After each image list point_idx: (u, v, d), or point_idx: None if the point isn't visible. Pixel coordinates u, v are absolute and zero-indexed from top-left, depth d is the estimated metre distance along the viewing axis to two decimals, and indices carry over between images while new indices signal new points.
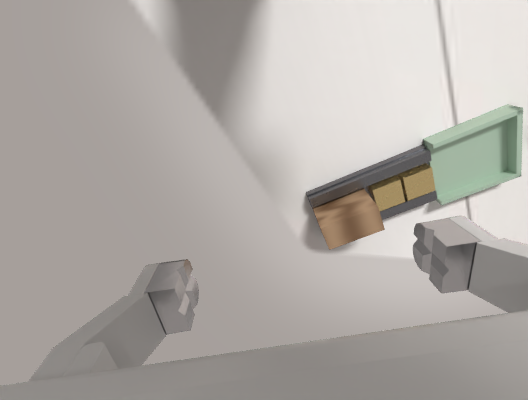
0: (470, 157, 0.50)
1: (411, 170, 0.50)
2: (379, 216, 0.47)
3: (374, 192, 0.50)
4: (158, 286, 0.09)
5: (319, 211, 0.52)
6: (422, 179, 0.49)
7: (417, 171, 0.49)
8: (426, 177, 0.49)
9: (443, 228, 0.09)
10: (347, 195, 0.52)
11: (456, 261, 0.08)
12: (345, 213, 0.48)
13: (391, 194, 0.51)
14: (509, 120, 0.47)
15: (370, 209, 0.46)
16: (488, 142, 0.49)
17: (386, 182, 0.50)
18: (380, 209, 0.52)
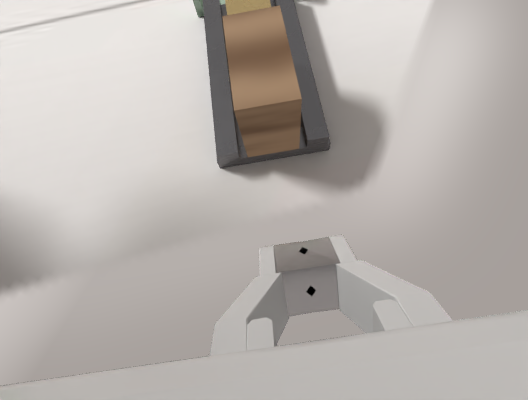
0: None
1: None
2: (244, 13, 0.24)
3: None
4: (288, 266, 0.08)
5: None
6: None
7: (226, 5, 0.32)
8: None
9: (317, 248, 0.09)
10: None
11: (321, 282, 0.08)
12: None
13: None
14: None
15: (224, 28, 0.24)
16: None
17: None
18: None
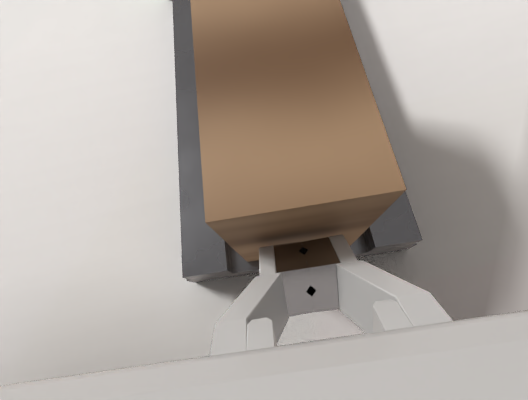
0: None
1: None
2: None
3: None
4: (288, 266, 0.08)
5: None
6: None
7: None
8: None
9: (317, 248, 0.09)
10: None
11: (321, 282, 0.08)
12: None
13: None
14: None
15: None
16: None
17: None
18: None
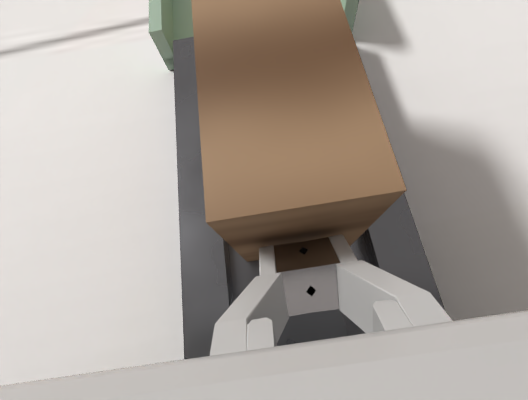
0: None
1: None
2: None
3: None
4: (288, 266, 0.08)
5: None
6: None
7: None
8: None
9: (317, 248, 0.09)
10: None
11: (321, 282, 0.08)
12: None
13: None
14: None
15: None
16: None
17: None
18: None
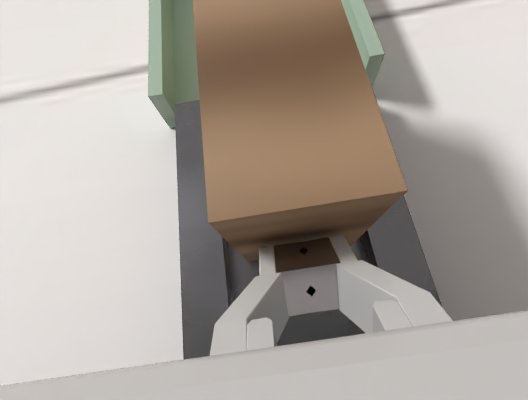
0: None
1: None
2: None
3: None
4: (288, 266, 0.08)
5: None
6: None
7: None
8: None
9: (317, 248, 0.09)
10: None
11: (321, 282, 0.08)
12: None
13: None
14: None
15: None
16: None
17: None
18: None
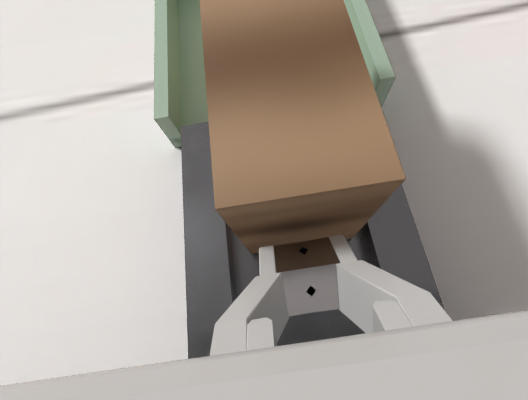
0: None
1: None
2: None
3: None
4: (288, 266, 0.08)
5: None
6: None
7: None
8: None
9: (317, 248, 0.09)
10: None
11: (321, 282, 0.08)
12: None
13: None
14: None
15: None
16: None
17: None
18: None
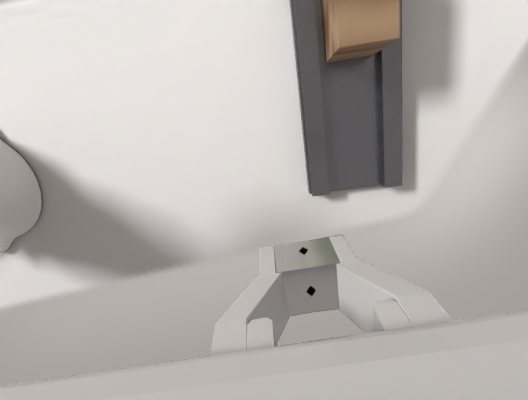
0: None
1: None
2: None
3: None
4: (288, 266, 0.08)
5: (328, 48, 0.29)
6: None
7: None
8: None
9: (317, 248, 0.09)
10: None
11: (321, 282, 0.08)
12: None
13: None
14: None
15: None
16: None
17: None
18: None
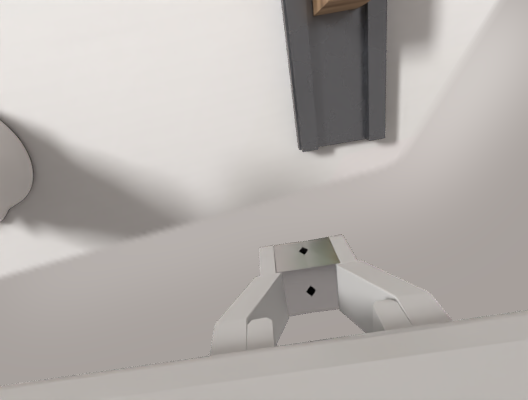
0: None
1: None
2: None
3: None
4: (288, 266, 0.08)
5: (316, 1, 0.29)
6: None
7: None
8: None
9: (317, 248, 0.09)
10: None
11: (321, 282, 0.08)
12: None
13: None
14: None
15: None
16: None
17: None
18: None
